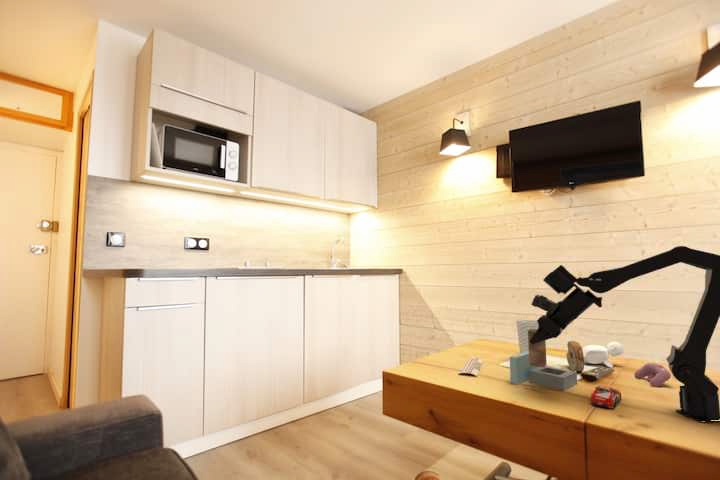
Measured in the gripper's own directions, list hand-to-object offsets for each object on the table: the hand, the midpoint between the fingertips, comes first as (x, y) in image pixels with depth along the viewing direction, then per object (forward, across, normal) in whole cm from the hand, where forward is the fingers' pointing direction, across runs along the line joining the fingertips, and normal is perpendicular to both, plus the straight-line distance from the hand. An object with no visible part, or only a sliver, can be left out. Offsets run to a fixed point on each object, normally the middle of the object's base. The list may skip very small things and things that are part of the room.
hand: (531, 341), depth 106 cm
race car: (-2, +1, +22) cm, 22 cm away
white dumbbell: (-1, -44, +21) cm, 49 cm away
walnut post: (+4, 0, +6) cm, 7 cm away
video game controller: (-11, -28, +30) cm, 42 cm away
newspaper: (+26, -12, -5) cm, 29 cm away
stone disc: (+4, -29, +16) cm, 33 cm away
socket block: (+7, -8, +13) cm, 17 cm away
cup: (+14, -32, +5) cm, 35 cm away
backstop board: (+12, -10, +7) cm, 17 cm away
